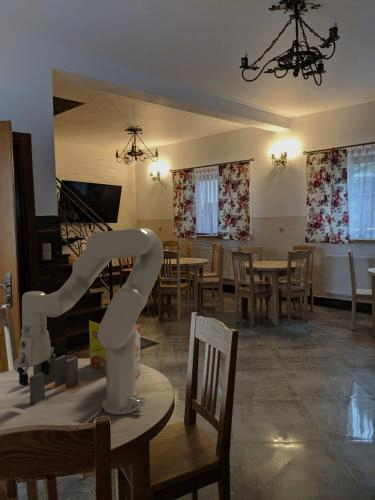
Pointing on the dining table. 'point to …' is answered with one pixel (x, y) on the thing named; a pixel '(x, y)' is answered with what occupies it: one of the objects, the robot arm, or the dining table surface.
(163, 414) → the dining table surface
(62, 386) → the domino board
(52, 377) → the domino
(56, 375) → the domino
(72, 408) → the dining table surface
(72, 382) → the domino
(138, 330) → the cracker box
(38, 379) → the domino
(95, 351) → the food package
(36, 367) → the domino
